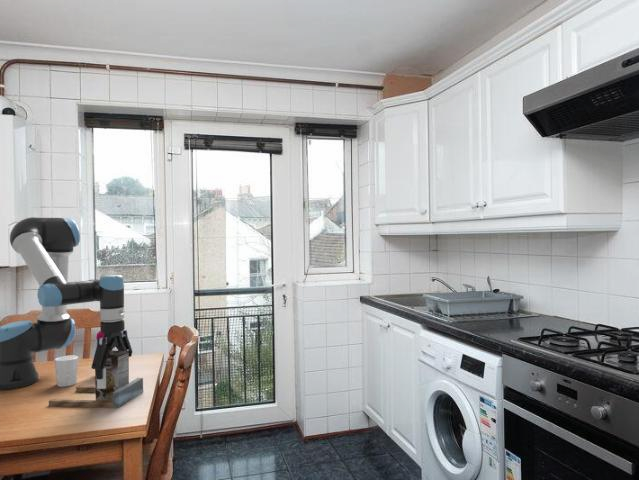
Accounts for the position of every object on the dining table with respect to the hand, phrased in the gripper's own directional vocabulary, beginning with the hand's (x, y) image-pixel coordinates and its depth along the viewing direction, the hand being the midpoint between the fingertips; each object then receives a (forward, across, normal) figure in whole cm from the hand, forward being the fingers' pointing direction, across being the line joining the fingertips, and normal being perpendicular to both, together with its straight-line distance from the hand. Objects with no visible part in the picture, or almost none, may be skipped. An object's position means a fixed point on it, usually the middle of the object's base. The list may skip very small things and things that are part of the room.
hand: (113, 381), depth 153 cm
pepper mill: (+6, +26, +20) cm, 33 cm away
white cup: (+6, +14, +28) cm, 32 cm away
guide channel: (+6, 0, +7) cm, 9 cm away
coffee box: (+6, 0, +1) cm, 6 cm away
